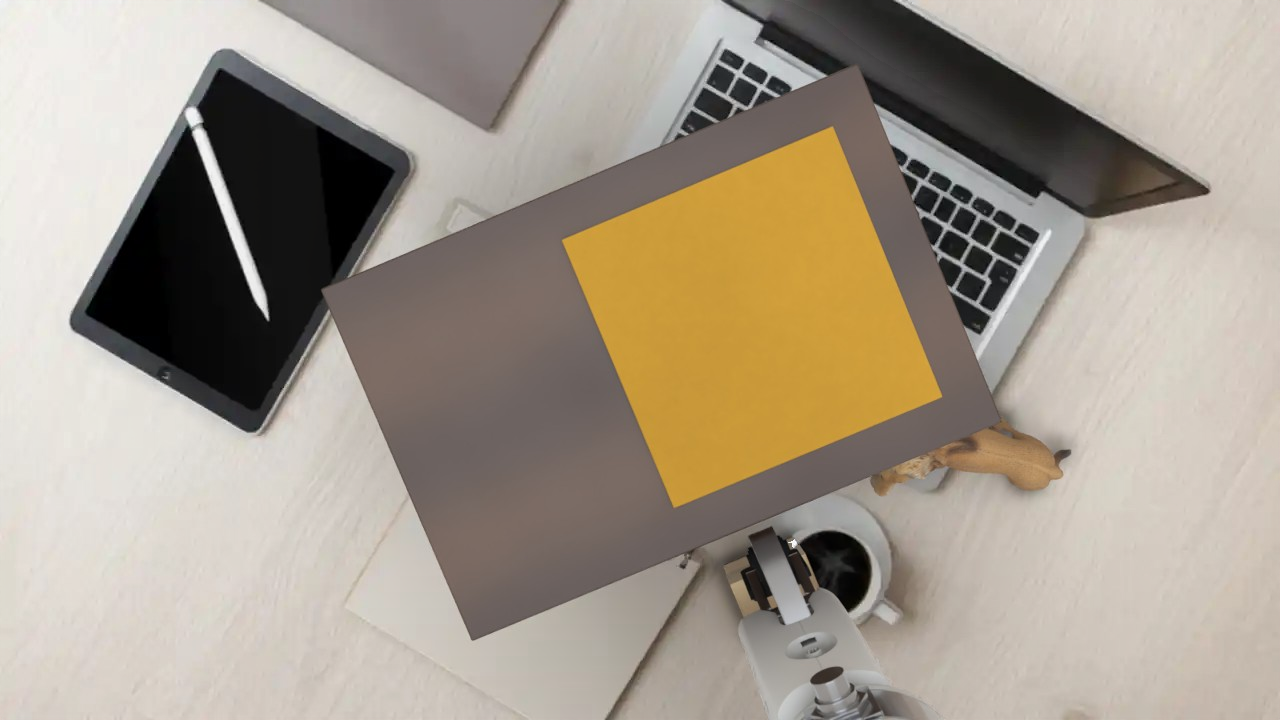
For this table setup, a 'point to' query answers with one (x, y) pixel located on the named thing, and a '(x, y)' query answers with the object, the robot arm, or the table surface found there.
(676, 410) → the felt cloth
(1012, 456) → the lion figurine
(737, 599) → the beech block
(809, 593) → the robot arm
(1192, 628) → the table surface
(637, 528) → the walnut stand
